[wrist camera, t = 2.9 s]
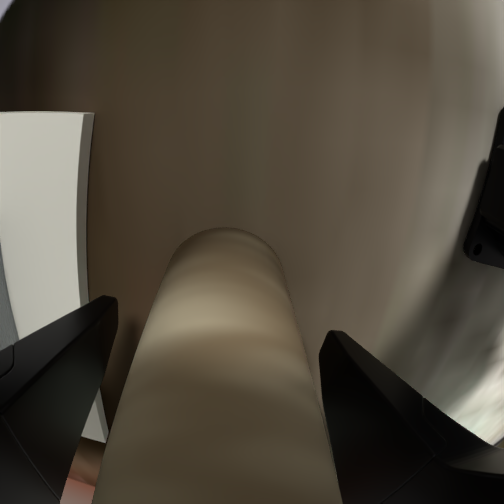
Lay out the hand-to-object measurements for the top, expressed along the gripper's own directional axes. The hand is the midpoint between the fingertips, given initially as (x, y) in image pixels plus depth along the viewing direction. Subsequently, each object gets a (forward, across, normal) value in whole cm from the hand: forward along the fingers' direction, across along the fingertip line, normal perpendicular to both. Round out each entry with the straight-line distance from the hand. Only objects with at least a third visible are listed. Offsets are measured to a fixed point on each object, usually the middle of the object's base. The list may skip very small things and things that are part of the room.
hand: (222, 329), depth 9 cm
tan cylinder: (+2, 0, 0) cm, 2 cm away
